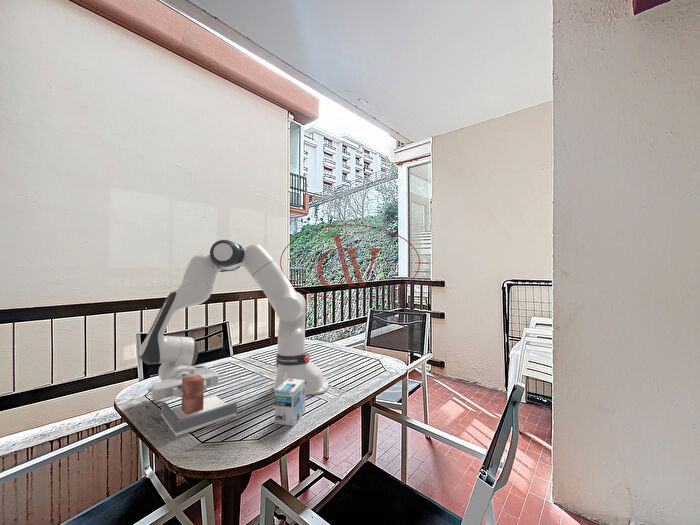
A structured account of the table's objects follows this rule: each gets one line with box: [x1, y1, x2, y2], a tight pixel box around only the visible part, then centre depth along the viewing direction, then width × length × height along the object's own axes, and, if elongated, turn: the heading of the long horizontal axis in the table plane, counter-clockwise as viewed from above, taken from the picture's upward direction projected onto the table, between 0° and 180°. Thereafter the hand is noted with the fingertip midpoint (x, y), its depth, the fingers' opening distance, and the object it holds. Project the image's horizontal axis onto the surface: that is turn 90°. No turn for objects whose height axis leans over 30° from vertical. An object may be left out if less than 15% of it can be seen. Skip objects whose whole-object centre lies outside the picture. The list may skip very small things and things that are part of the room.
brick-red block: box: [181, 374, 205, 415], centre depth 96 cm, size 5×5×10 cm
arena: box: [160, 395, 238, 437], centre depth 100 cm, size 18×18×4 cm
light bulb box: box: [274, 379, 306, 427], centre depth 98 cm, size 11×7×11 cm, turn 168°
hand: (193, 391), depth 96 cm, fingers closed on brick-red block, 5 cm apart
